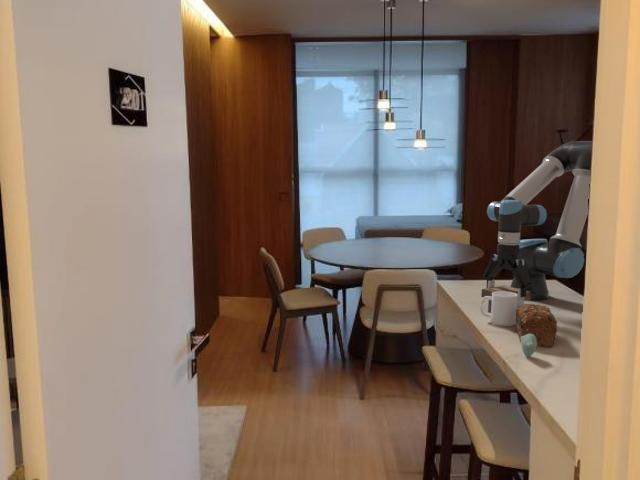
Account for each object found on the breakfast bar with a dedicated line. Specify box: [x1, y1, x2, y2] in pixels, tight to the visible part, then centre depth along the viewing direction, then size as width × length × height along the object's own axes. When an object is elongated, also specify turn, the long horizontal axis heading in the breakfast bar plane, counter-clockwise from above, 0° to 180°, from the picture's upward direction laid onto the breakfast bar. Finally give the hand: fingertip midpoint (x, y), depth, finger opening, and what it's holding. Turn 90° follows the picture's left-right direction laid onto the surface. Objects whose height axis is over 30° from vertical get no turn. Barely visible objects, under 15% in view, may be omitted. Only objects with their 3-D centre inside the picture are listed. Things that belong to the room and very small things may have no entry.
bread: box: [515, 303, 558, 348], centre depth 188 cm, size 19×11×10 cm, turn 167°
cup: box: [479, 291, 518, 327], centre depth 205 cm, size 8×12×10 cm
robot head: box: [520, 334, 538, 358], centre depth 171 cm, size 8×4×7 cm, turn 177°
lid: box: [480, 285, 531, 302], centre depth 218 cm, size 12×12×3 cm
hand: (505, 301), depth 219 cm, fingers open, 13 cm apart
